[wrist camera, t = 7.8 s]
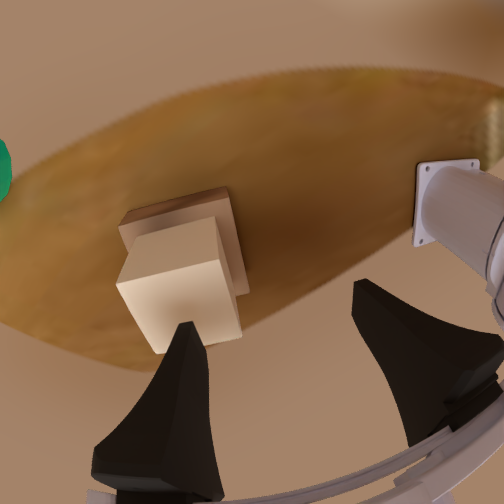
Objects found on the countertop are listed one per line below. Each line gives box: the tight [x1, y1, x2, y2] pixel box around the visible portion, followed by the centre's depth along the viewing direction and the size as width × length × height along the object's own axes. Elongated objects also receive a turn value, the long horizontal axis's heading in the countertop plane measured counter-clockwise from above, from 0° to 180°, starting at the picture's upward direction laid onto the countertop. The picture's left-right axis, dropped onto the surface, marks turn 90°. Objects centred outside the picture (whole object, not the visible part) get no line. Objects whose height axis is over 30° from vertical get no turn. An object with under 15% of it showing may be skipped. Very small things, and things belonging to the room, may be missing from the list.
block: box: [116, 216, 243, 354], centre depth 15 cm, size 5×5×5 cm
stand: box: [118, 186, 250, 296], centre depth 18 cm, size 7×7×2 cm
